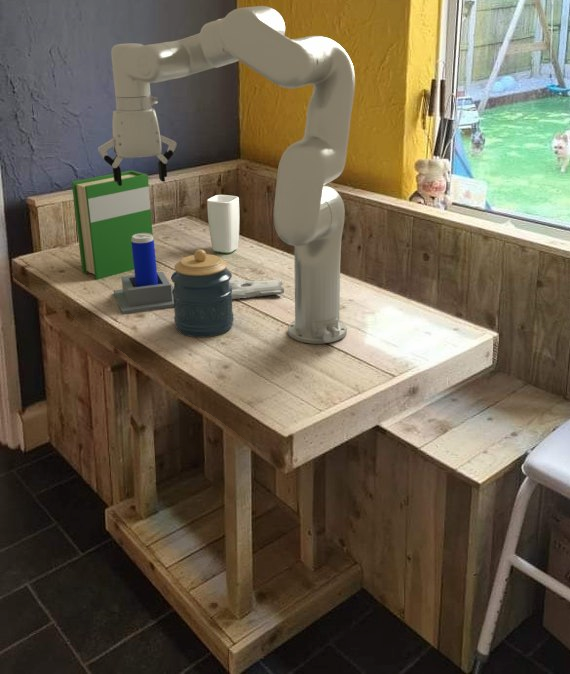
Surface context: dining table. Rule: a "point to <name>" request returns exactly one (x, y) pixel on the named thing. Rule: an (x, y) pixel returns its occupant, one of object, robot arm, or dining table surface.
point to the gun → (255, 288)
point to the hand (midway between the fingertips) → (141, 182)
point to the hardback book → (110, 221)
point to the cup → (223, 222)
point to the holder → (144, 295)
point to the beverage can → (144, 259)
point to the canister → (202, 295)
